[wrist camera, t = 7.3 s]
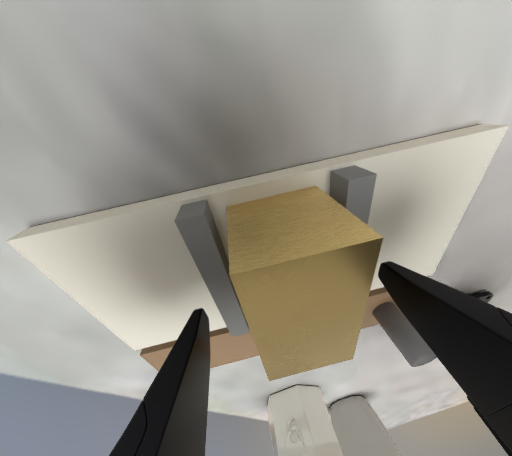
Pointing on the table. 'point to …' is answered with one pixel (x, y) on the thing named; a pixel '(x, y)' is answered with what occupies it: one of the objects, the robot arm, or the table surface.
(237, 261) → the bar
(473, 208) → the table surface
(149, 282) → the door board
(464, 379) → the robot arm
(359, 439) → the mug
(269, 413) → the jar
